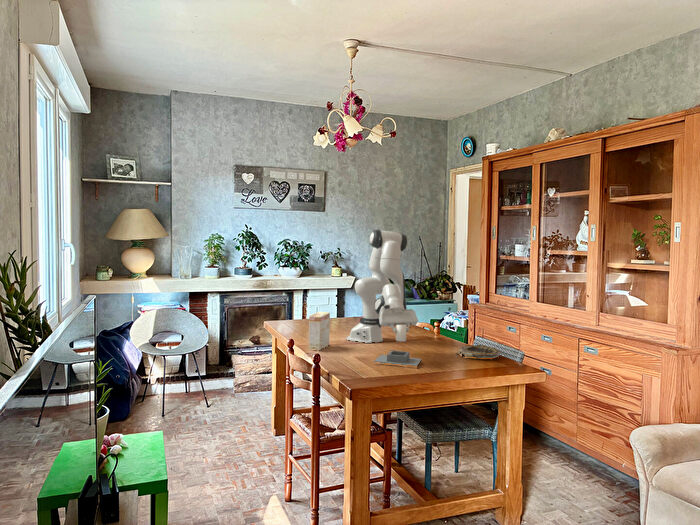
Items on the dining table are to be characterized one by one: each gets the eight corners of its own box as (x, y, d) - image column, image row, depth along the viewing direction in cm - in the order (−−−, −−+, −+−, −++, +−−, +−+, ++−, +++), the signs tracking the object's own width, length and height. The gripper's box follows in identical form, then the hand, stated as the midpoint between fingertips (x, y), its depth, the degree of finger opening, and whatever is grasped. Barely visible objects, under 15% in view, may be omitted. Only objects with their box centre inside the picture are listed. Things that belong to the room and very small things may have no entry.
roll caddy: (374, 364, 263) (374, 354, 263) (380, 357, 276) (380, 348, 276) (417, 368, 257) (417, 358, 256) (421, 361, 270) (421, 352, 270)
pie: (476, 348, 304) (477, 340, 303) (517, 359, 282) (517, 350, 282) (444, 355, 286) (445, 346, 286) (485, 367, 265) (486, 357, 265)
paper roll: (394, 340, 265) (394, 324, 265) (399, 338, 269) (399, 323, 269) (402, 342, 262) (403, 326, 262) (407, 340, 266) (408, 324, 266)
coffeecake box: (318, 344, 303) (319, 311, 302) (329, 345, 301) (330, 312, 299) (308, 350, 289) (308, 315, 288) (319, 351, 287) (320, 316, 285)
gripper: (412, 312, 278) (418, 334, 270) (376, 313, 273) (381, 335, 265) (415, 305, 274) (422, 327, 265) (379, 306, 269) (384, 328, 260)
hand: (401, 331), depth 265 cm, fingers closed on paper roll, 5 cm apart
